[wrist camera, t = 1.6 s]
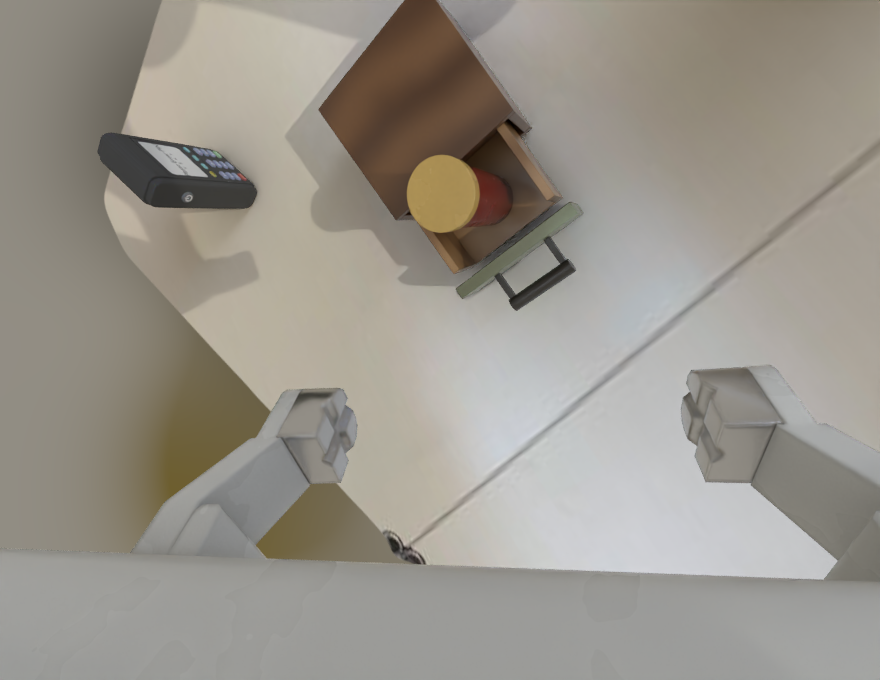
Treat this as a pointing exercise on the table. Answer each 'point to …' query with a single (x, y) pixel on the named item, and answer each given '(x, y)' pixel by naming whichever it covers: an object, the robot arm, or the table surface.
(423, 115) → the cabinet
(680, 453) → the table surface
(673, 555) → the table surface
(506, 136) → the drawer
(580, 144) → the table surface
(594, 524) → the table surface
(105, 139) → the card reader
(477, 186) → the tea tin
